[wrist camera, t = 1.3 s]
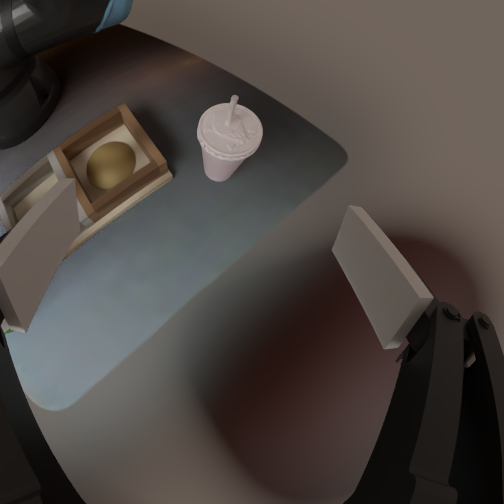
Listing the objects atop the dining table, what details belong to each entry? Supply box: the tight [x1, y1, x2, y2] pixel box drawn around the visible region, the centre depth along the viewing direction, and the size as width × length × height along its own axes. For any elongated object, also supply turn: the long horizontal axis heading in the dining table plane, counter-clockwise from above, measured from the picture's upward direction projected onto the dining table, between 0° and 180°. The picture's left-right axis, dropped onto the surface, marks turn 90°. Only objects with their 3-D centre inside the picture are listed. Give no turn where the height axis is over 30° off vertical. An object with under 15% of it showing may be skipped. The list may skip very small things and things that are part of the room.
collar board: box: [0, 103, 173, 262], centre depth 29 cm, size 12×21×4 cm, turn 128°
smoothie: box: [197, 95, 263, 181], centre depth 29 cm, size 6×6×14 cm
